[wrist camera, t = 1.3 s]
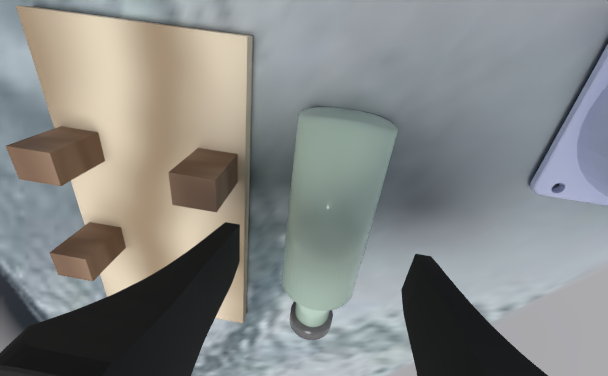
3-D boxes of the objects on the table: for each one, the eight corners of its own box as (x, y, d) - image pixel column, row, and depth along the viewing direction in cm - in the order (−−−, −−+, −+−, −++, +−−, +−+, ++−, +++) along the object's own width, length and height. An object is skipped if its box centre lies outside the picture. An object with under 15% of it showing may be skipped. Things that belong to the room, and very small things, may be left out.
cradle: (252, 35, 13) (221, 39, 10) (246, 313, 22) (229, 362, 18) (33, 6, 13) (-65, 1, 10) (115, 288, 22) (76, 332, 19)
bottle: (390, 114, 14) (406, 146, 10) (343, 300, 20) (342, 358, 16) (304, 102, 14) (291, 128, 10) (283, 289, 20) (271, 345, 17)
